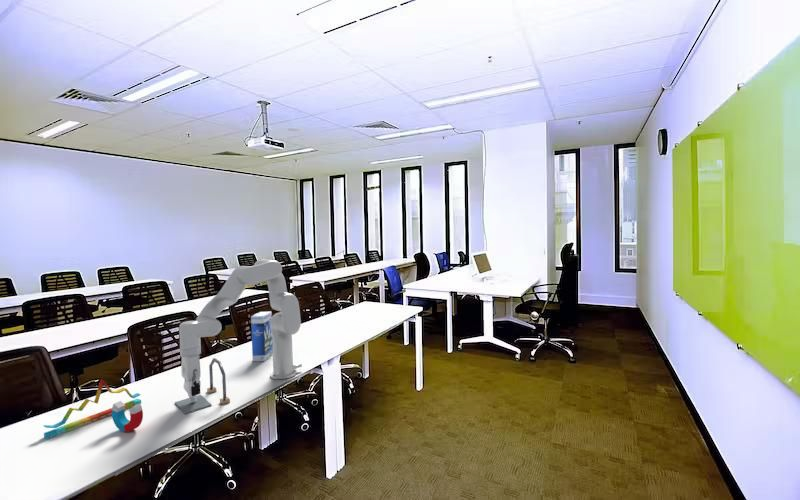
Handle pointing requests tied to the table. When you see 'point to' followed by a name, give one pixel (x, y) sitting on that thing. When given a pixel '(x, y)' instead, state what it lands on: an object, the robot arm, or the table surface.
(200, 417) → the table surface
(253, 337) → the string lights box
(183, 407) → the mat
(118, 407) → the magnet
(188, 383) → the lightbulb
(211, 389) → the wire arch
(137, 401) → the chart
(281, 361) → the robot arm
